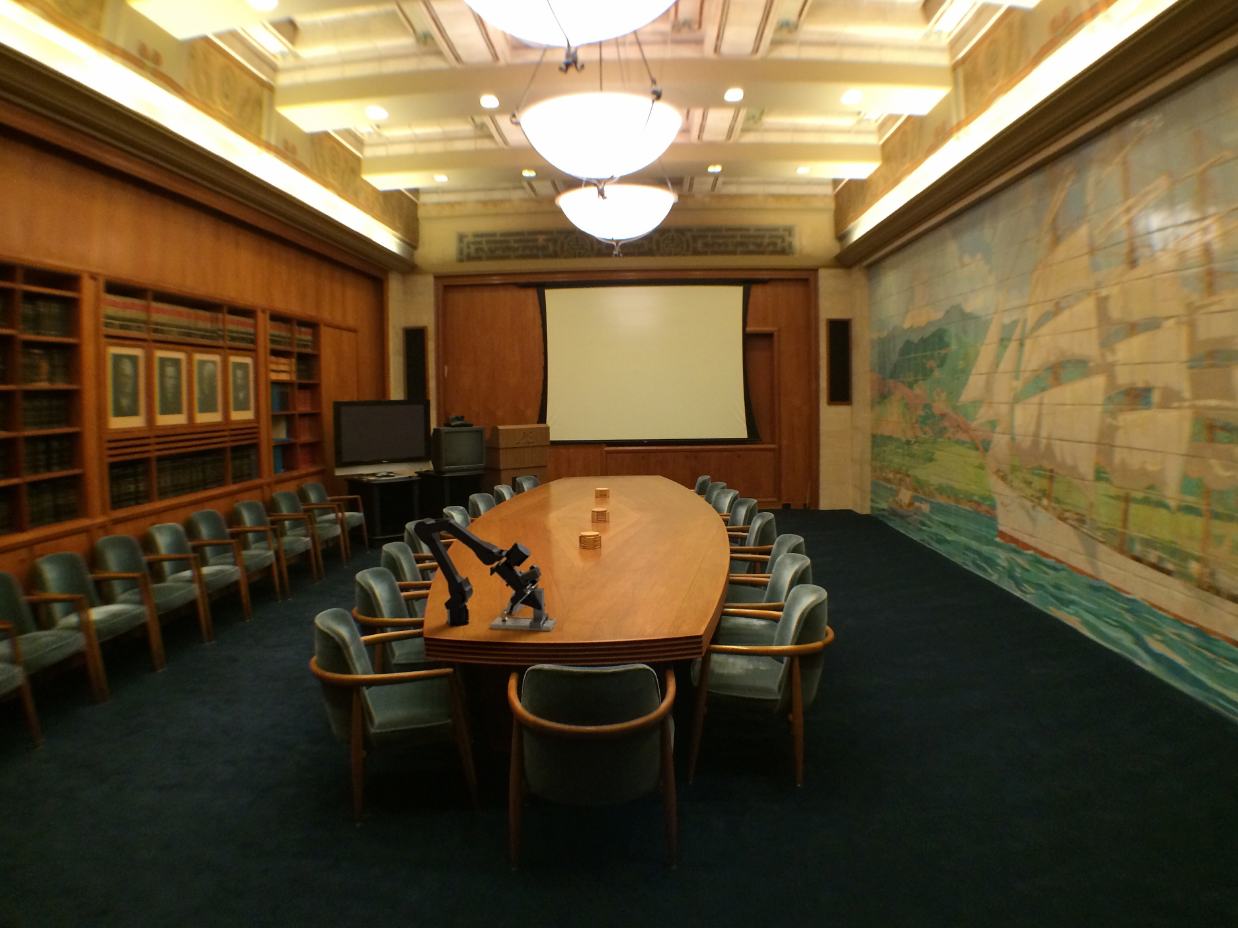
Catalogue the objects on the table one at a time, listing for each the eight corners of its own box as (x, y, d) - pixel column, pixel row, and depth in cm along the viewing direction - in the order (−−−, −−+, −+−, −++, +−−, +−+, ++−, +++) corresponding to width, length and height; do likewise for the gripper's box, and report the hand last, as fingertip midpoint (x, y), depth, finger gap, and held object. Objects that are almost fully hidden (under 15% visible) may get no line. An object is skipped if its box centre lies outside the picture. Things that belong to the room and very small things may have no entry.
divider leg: (529, 628, 234) (528, 593, 232) (537, 618, 244) (536, 585, 242) (541, 628, 233) (540, 593, 232) (548, 618, 243) (547, 585, 242)
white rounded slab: (517, 600, 268) (525, 577, 267) (528, 604, 268) (536, 581, 266) (501, 614, 252) (509, 589, 250) (513, 618, 251) (521, 594, 250)
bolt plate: (491, 628, 237) (490, 615, 236) (498, 620, 245) (497, 608, 244) (550, 630, 234) (550, 617, 233) (556, 622, 242) (556, 610, 241)
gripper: (518, 566, 227) (552, 600, 227) (533, 553, 246) (564, 584, 245) (496, 589, 229) (529, 622, 229) (512, 574, 248) (543, 605, 247)
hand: (542, 607), depth 238 cm, fingers closed on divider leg, 3 cm apart
